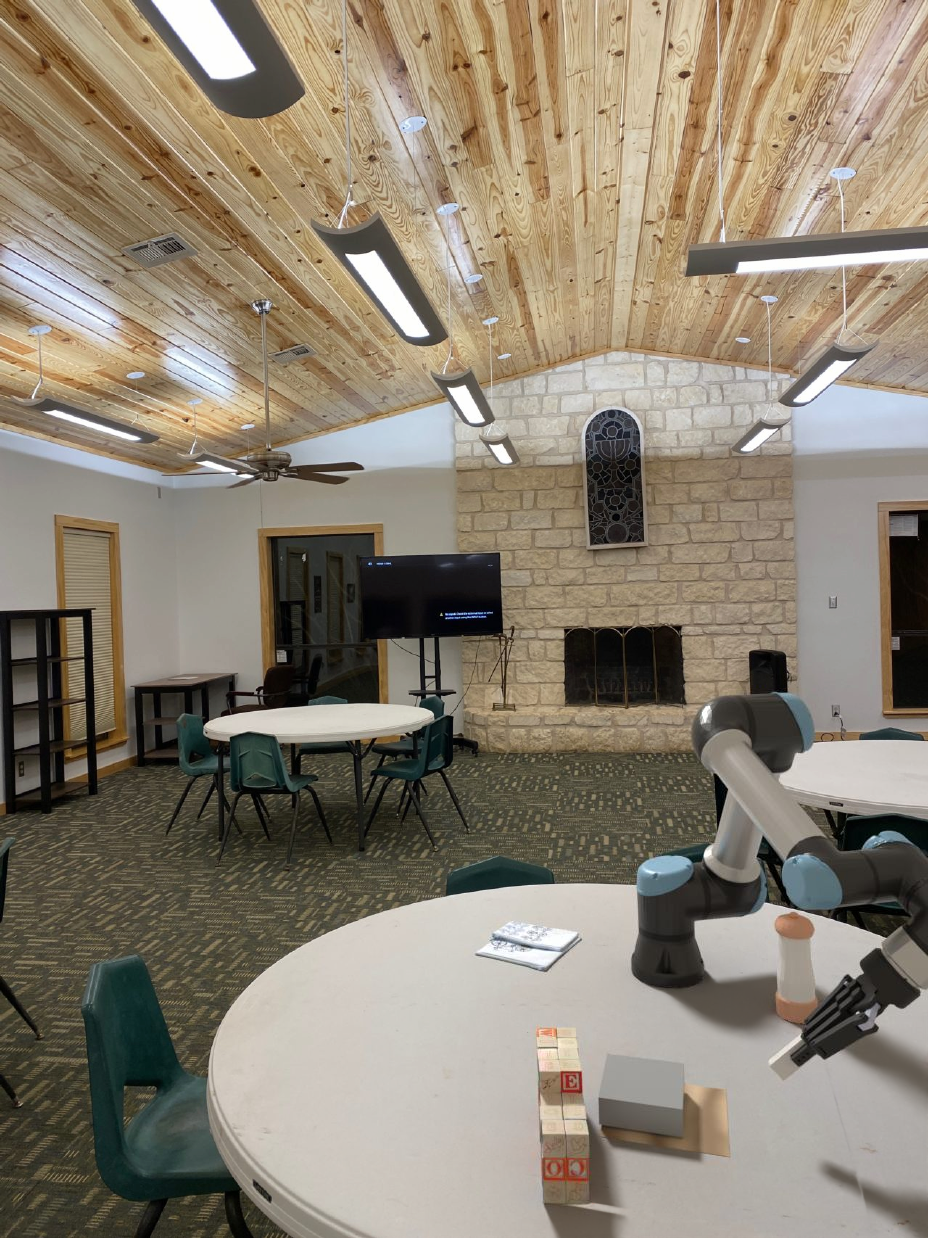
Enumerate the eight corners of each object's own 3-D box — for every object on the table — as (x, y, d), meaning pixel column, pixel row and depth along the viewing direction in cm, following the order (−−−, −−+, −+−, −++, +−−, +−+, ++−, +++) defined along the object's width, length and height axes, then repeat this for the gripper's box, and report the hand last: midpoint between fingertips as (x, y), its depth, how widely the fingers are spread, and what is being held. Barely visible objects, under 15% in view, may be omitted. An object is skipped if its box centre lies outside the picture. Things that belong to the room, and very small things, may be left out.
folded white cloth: (582, 941, 186) (582, 931, 186) (544, 975, 169) (544, 965, 169) (512, 926, 196) (511, 917, 196) (469, 957, 179) (469, 947, 179)
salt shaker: (818, 1008, 150) (815, 908, 150) (817, 1027, 143) (814, 922, 143) (777, 1002, 153) (774, 903, 153) (774, 1019, 146) (771, 917, 146)
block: (683, 1063, 124) (607, 1053, 128) (682, 1109, 113) (598, 1097, 116) (684, 1091, 124) (608, 1081, 128) (683, 1140, 113) (599, 1127, 116)
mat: (726, 1093, 124) (725, 1089, 124) (730, 1161, 109) (729, 1157, 109) (611, 1078, 130) (610, 1074, 130) (599, 1140, 114) (599, 1136, 114)
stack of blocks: (591, 1206, 102) (588, 1111, 102) (542, 1205, 102) (539, 1111, 102) (578, 1104, 123) (575, 1025, 123) (538, 1104, 123) (535, 1025, 123)
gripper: (936, 1013, 103) (801, 1119, 108) (910, 968, 115) (791, 1066, 120) (890, 968, 104) (759, 1075, 109) (869, 929, 117) (753, 1027, 122)
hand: (776, 1070), depth 115 cm, fingers closed
